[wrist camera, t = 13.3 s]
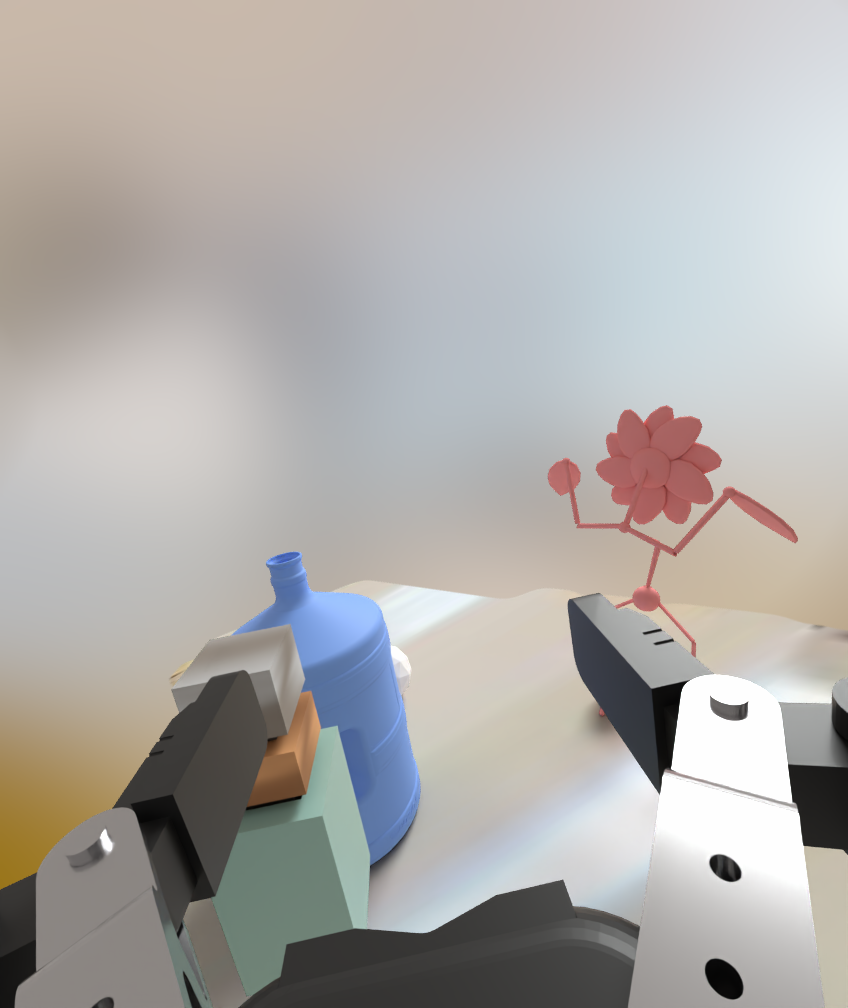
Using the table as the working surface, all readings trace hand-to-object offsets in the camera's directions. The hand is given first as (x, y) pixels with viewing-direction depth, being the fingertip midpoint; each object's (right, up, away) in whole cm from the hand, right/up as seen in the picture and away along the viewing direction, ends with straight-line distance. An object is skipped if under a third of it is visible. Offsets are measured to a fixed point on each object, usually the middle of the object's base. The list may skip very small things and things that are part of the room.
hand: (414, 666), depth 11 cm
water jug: (-8, -28, +36) cm, 47 cm away
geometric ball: (-5, -24, +53) cm, 59 cm away
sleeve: (-5, -16, +10) cm, 19 cm away
